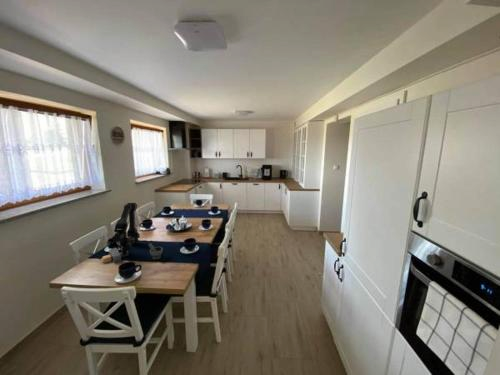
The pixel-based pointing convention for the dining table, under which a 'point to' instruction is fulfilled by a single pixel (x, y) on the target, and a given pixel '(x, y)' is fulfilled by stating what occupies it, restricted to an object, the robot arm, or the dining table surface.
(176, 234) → the dining table surface
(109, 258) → the plug
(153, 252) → the mortar and pestle
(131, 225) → the robot arm
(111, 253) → the housing
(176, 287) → the dining table surface
